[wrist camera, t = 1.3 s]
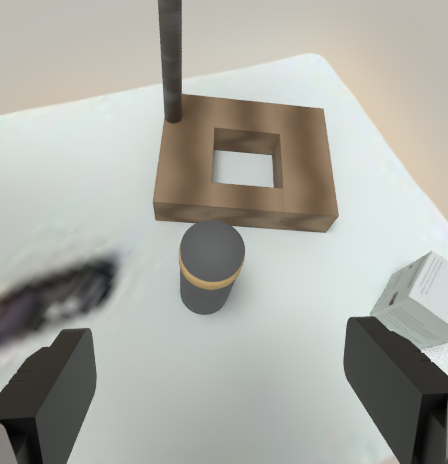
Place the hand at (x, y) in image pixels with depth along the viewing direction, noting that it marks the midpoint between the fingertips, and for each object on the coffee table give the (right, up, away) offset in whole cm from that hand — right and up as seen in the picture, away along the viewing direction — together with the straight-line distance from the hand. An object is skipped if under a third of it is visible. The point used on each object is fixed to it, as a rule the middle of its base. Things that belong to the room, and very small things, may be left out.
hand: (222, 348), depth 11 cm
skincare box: (+20, -5, +27) cm, 34 cm away
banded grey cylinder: (-2, -3, +26) cm, 26 cm away
